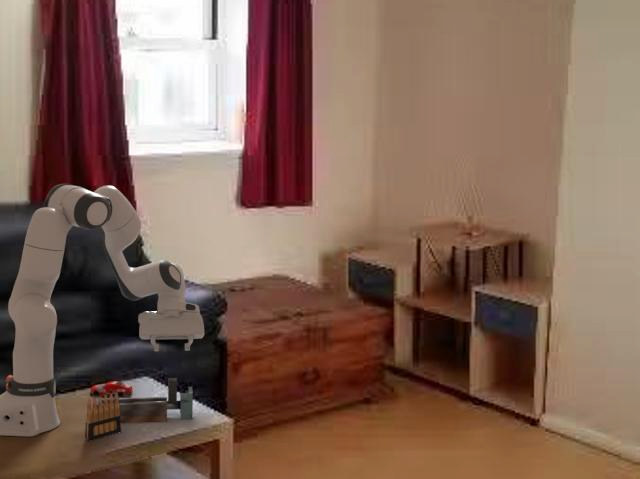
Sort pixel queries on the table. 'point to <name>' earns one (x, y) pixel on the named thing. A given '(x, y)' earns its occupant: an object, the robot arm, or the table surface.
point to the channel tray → (141, 410)
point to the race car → (112, 389)
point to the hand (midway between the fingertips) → (172, 350)
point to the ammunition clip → (103, 418)
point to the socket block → (186, 404)
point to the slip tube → (169, 396)
